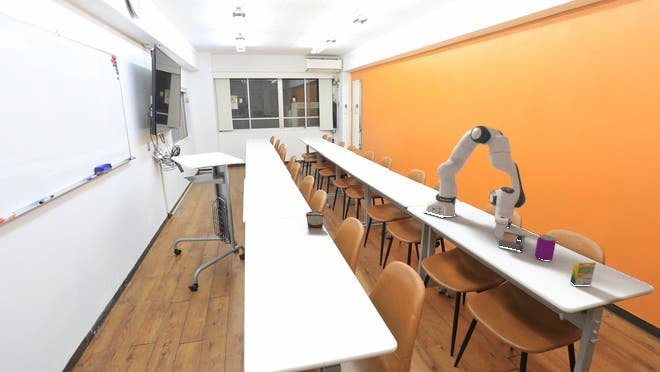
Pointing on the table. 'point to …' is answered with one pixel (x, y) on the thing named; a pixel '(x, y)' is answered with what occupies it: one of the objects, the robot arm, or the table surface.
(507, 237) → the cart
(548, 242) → the beverage can
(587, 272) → the crayon box
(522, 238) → the dock bay
